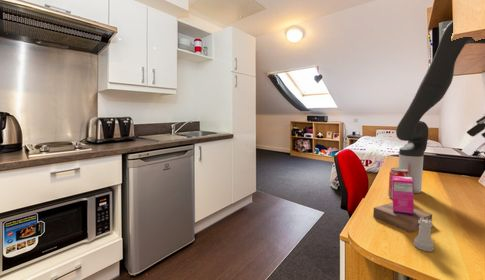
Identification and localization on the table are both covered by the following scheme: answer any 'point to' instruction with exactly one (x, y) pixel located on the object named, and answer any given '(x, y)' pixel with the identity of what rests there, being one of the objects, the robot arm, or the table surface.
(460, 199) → the table surface
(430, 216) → the walnut block
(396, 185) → the supplement box
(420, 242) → the rook chess piece
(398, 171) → the soda can
